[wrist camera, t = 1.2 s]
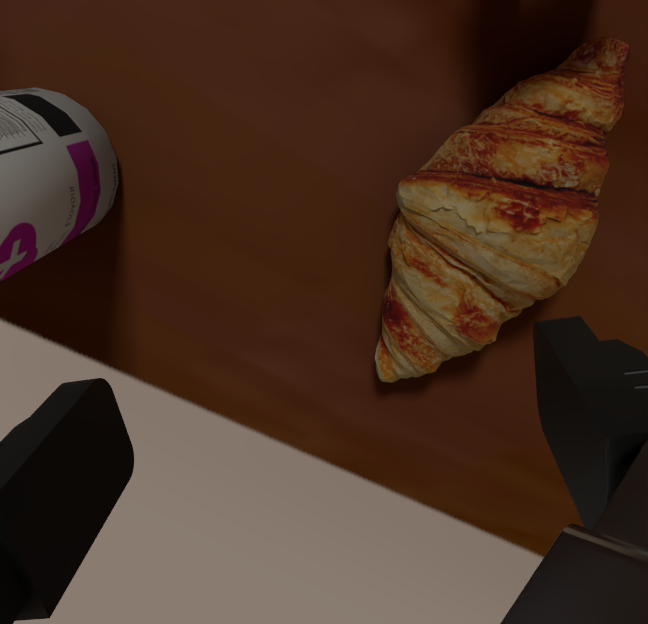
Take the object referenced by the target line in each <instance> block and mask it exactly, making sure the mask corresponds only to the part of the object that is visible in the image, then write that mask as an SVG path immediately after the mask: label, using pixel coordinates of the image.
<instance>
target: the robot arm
mask: <svg viewBox="0 0 648 624" xmlns="http://www.w3.org/2000/svg"><path fill="white" fill-rule="evenodd" d="M533 341H534V357H535V373H536V388H537V403H538V410H539V416H540V421H541V425H542V429H543V432H544V435H545V437H546V440H547V442H548V444H549V447H550V449H551V451H552V453H553V456H554V458H555V460H556V463H557V465H558V467H559V470H560V472H561V474H562V476H563V479H564V481H565V483H566V486H567V488H568V490H569V493H570V495H571V497H572V499H573V502H574V504H575V506H576V509H577V511H578V513H579V516H580V518H581V520H582V522H583V525H584V527H582V526H579V525H576V524H570V525H568V526H567V527H565V528H564V529H563V530H562V532H561V533H560V534H559V536H558V537H557V539H556V540H555V542H554V543H553V545H552V546H551V548H550V549H549V551H548V552H547V554H546V555H545V557H544V558H543V560H542V561H541V563H540V565H539V566H538V568H537V569H536V570H535V572H534V574H533V575H532V577H531V578H530V580H529V581H528V583H527V584H526V586H525V587H524V589H523V590H522V592H521V593H520V595H519V596H518V598H517V599H516V601H515V602H514V604H513V606H512V607H511V608H510V610H509V612H508V613H507V615H506V616H505V618H504V619H503V621H502V622H501V624H648V358H647V356H646V355H645V354H644V353H643V352H642V351H640V350H638V349H636V348H634V347H632V346H630V345H628V344H626V343H624V342H622V341H620V340H617V339H615V340H607V341H599V340H598V339H597V337H596V336H595V335H594V333H593V332H592V331H591V329H590V328H589V327H588V326H587V324H586V323H585V322H584V320H583V319H582V318H581V317H580V316H575V317H567V318H560V319H552V320H545V321H537V322H535V323H534V327H533ZM133 467H134V452H133V447H132V444H131V441H130V438H129V435H128V433H127V430H126V427H125V424H124V421H123V419H122V416H121V413H120V410H119V407H118V404H117V402H116V399H115V396H114V393H113V391H112V388H111V386H110V385H109V383H108V382H107V381H106V380H105V379H102V378H97V379H90V380H82V381H75V382H67V383H63V384H61V385H60V386H59V387H58V388H57V389H56V390H55V391H54V392H53V393H52V394H51V396H49V397H48V398H47V399H46V400H45V402H44V403H43V404H42V405H41V406H40V407H39V408H38V409H37V410H36V411H35V412H34V413H33V414H32V415H31V417H29V418H28V419H26V420H25V421H23V422H22V423H20V424H19V425H17V426H16V427H15V428H14V429H12V430H11V432H10V433H9V434H8V435H7V436H6V437H5V438H4V439H3V440H2V441H1V442H0V624H13V623H14V621H16V620H31V619H45V618H50V616H51V615H52V613H53V611H54V609H55V608H56V606H57V604H58V603H59V601H60V599H61V597H62V596H63V594H64V592H65V590H66V589H67V587H68V585H69V583H70V582H71V580H72V578H73V577H74V575H75V573H76V571H77V570H78V568H79V566H80V565H81V563H82V561H83V559H84V558H85V556H86V554H87V553H88V551H89V549H90V547H91V546H92V544H93V542H94V540H95V539H96V537H97V535H98V533H99V532H100V530H101V528H102V527H103V525H104V523H105V521H106V520H107V518H108V516H109V515H110V513H111V511H112V509H113V508H114V506H115V504H116V502H117V501H118V499H119V497H120V496H121V494H122V492H123V490H124V489H125V487H126V485H127V483H128V482H129V480H130V478H131V476H132V473H133Z"/></svg>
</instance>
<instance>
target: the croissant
mask: <svg viewBox="0 0 648 624" xmlns="http://www.w3.org/2000/svg"><path fill="white" fill-rule="evenodd" d="M629 53H630V49H629V47H628V45H627V44H626V43H624V42H622V41H620V40H617V39H613V38H610V37H602V38H595V39H592V40H590V41H587V42H586V43H584V44H583V45H581V46H580V47H578V48H577V49H575V50H574V51H573V52H572V54H571V55H570V56H569V58H568V59H567V60H566V61H565V62H563V63H562V64H561V65H559V66H558V67H557V68H556V70H552V71H548V72H545V73H542V74H538V75H534V76H532V77H530V78H528V79H526V80H523V81H519V82H518V84H517V85H516V86H515V87H513V88H512V89H511V90H509V91H508V92H507V93H505V94H504V95H503V96H502V97H501V98H500V99H499V100H498V101H497V102H496V103H495V104H493V105H492V106H490V107H489V108H487V109H485V110H483V111H482V112H481V114H480V115H479V116H478V117H477V118H476V120H475V121H474V122H473V124H472V125H468V126H464V127H461V128H460V129H458V130H457V131H456V132H454V133H453V134H452V135H451V136H450V137H449V139H448V140H447V141H446V142H445V143H444V144H443V145H442V146H441V147H440V148H439V149H438V151H437V152H436V153H435V154H434V156H433V157H432V158H431V159H430V160H429V162H427V163H426V164H425V165H424V166H423V167H422V168H421V169H420V170H418V171H417V172H416V173H413V174H411V176H407V177H405V178H404V179H402V180H401V181H400V183H399V188H398V190H397V192H396V197H397V203H398V206H399V208H400V211H399V213H398V216H397V219H396V221H395V223H394V226H393V228H392V231H391V233H390V236H389V239H388V245H389V247H390V248H391V259H392V275H391V280H390V283H389V286H388V288H387V290H386V292H385V296H384V299H383V302H382V322H383V323H382V333H381V335H380V338H379V342H378V345H377V349H376V354H375V361H376V371H377V374H378V376H379V379H380V380H381V381H382V382H390V383H393V382H396V381H397V380H399V379H400V378H406V379H408V378H410V377H415V378H416V377H420V376H422V375H425V374H427V373H433V372H436V370H437V368H438V367H439V365H440V364H441V362H443V361H445V360H449V359H450V358H452V357H453V356H454V357H457V356H463V355H466V354H467V353H471V352H473V351H474V350H475V351H480V350H481V349H482V348H483V347H484V346H485V345H486V344H491V343H492V342H493V341H496V337H497V333H498V331H499V329H500V326H501V324H502V323H503V322H505V321H507V320H509V319H510V318H512V317H516V316H518V315H519V314H520V313H521V311H522V309H523V308H526V307H530V306H531V305H533V304H534V302H535V301H536V300H543V299H545V298H549V297H551V296H552V295H553V294H555V293H556V292H557V291H558V290H560V289H561V288H562V286H565V285H567V282H568V280H569V279H570V278H571V276H572V275H573V274H574V273H575V272H576V269H577V266H578V265H579V263H580V262H581V261H582V260H583V258H584V255H585V253H586V251H587V249H588V247H589V245H590V243H591V239H592V237H593V235H594V233H595V230H596V227H597V224H598V219H599V214H598V209H599V205H598V196H599V192H600V188H601V186H602V183H603V181H604V176H605V174H606V173H607V170H608V167H609V160H608V151H607V149H606V134H605V133H606V132H609V131H610V130H611V128H612V127H613V126H614V124H615V123H616V122H617V121H618V119H619V118H620V117H621V113H622V110H623V107H624V95H623V82H624V79H625V76H626V69H625V65H626V62H627V60H628V57H629Z"/></svg>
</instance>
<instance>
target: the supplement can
mask: <svg viewBox="0 0 648 624" xmlns="http://www.w3.org/2000/svg"><path fill="white" fill-rule="evenodd" d="M117 186H118V171H117V160H116V155H115V152H114V150H113V148H112V145H111V143H110V141H109V138H108V136H107V134H106V131H105V130H104V129H103V128H102V126H101V125H100V124H99V123H98V122H97V121H96V119H95V118H94V117H93V116H92V115H91V113H90V112H89V111H88V110H87V109H86V108H84V107H83V106H81V105H80V104H78V103H76V102H75V101H73V100H72V99H70V98H69V97H67V96H65V95H64V94H61V93H57V92H53V91H49V90H44V89H40V88H27V89H16V90H5V91H0V282H1V281H2V280H4V279H6V278H7V277H9V276H11V275H12V274H14V273H16V272H17V271H19V270H21V269H22V268H24V267H26V266H28V265H29V264H31V263H33V262H34V261H36V260H38V259H39V258H41V257H43V256H44V255H46V254H48V253H49V252H51V251H53V250H55V249H56V248H58V247H60V246H61V245H63V244H65V243H66V242H68V241H70V240H71V239H73V238H75V237H76V236H78V235H80V234H81V233H83V232H85V231H87V230H88V229H90V228H92V227H93V226H95V225H97V224H98V223H99V222H100V221H101V220H102V218H103V217H104V216H105V214H106V213H107V212H108V210H109V209H110V208H111V207H112V205H113V201H114V197H115V194H116V190H117Z"/></svg>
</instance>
